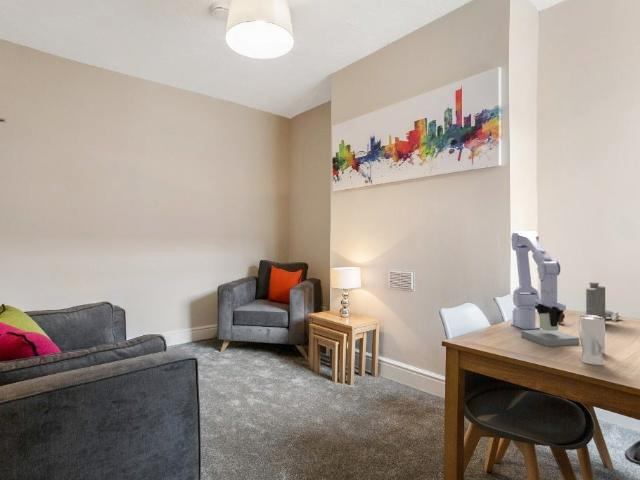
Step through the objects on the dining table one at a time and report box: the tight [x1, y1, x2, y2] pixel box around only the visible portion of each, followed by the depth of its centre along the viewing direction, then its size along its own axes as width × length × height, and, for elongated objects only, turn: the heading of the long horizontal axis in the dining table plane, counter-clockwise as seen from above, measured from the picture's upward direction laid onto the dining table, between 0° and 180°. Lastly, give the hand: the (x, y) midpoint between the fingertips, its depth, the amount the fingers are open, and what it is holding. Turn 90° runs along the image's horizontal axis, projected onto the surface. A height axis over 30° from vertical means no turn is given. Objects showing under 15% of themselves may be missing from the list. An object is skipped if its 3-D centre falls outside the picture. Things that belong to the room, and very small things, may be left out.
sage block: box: [539, 313, 559, 331], centre depth 146 cm, size 4×4×6 cm
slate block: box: [520, 328, 580, 347], centre depth 146 cm, size 14×14×3 cm
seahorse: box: [581, 309, 621, 322], centre depth 179 cm, size 5×12×20 cm
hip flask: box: [585, 281, 606, 323], centre depth 169 cm, size 16×4×20 cm, turn 125°
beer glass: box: [578, 314, 606, 366], centre depth 121 cm, size 7×7×15 cm
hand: (548, 324), depth 146 cm, fingers closed on sage block, 4 cm apart
